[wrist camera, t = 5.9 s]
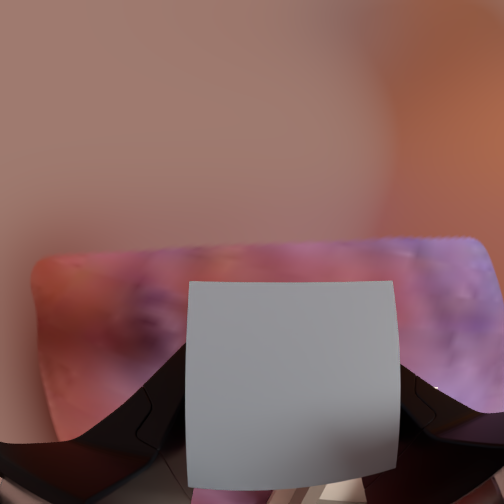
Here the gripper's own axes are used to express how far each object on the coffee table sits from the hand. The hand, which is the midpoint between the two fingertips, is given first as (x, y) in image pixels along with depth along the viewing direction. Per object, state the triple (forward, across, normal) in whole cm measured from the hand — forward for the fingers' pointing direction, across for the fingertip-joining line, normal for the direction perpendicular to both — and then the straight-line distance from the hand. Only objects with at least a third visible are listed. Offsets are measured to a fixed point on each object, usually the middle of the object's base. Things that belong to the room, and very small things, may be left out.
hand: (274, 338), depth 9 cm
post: (+4, 0, +6) cm, 7 cm away
